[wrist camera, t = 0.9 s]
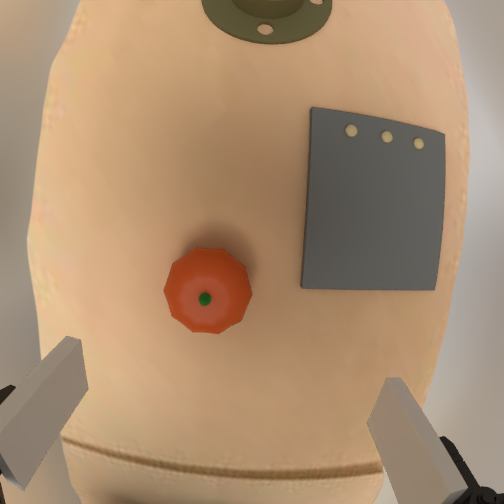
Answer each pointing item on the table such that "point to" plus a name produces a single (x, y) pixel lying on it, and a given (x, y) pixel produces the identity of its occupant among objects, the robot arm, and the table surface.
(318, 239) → the mat
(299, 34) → the flange
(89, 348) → the table surface
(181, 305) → the pumpkin
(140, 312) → the table surface
